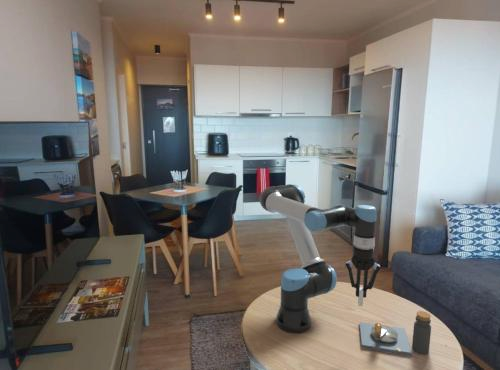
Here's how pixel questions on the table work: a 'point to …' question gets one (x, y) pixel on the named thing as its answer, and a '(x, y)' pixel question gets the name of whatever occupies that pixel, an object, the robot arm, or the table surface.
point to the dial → (384, 333)
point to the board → (397, 348)
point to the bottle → (421, 333)
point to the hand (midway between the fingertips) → (360, 304)
